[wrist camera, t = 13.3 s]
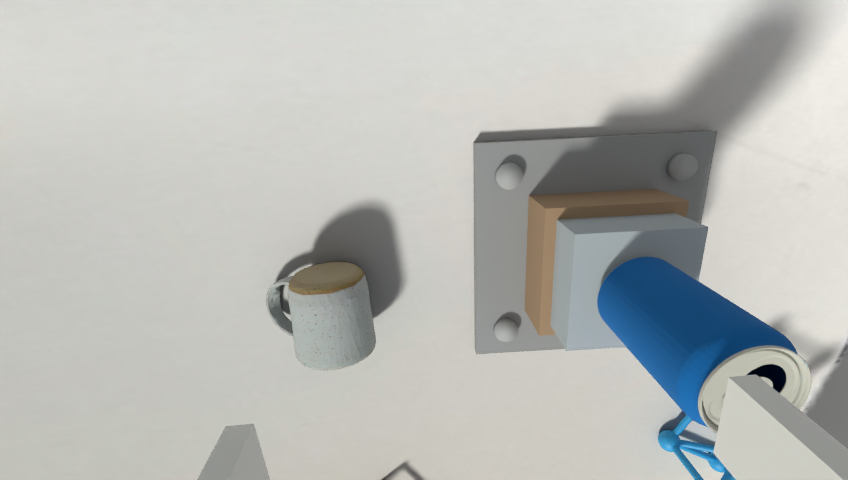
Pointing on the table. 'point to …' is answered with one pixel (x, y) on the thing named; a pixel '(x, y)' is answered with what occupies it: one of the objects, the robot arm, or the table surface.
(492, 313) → the tower base
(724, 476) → the molecular structure
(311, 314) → the ceramic mug
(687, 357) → the beverage can
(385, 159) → the table surface
